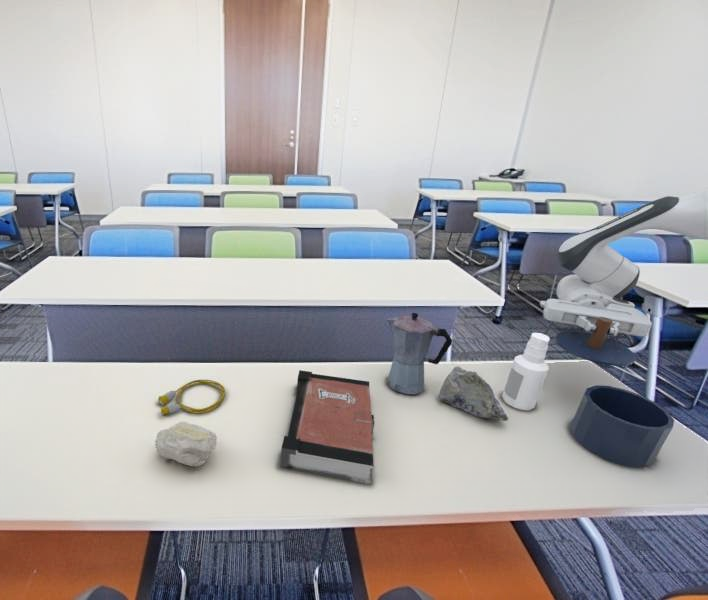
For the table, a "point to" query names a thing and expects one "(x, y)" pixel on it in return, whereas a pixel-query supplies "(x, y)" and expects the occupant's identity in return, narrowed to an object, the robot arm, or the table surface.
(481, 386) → the mineral rock
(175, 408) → the extension cord
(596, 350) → the lid
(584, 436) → the pot
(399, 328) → the moka pot
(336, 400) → the book
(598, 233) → the robot arm
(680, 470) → the table surface
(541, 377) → the spray bottle
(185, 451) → the white rock
